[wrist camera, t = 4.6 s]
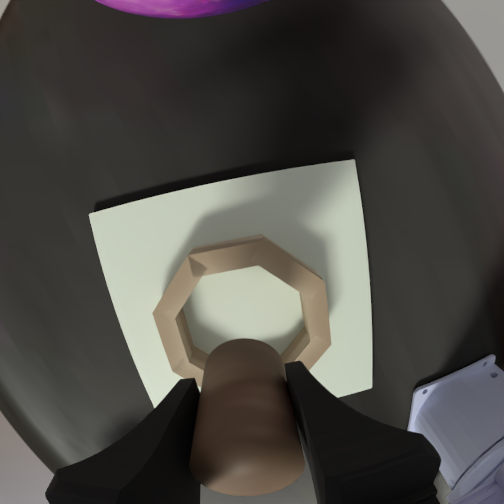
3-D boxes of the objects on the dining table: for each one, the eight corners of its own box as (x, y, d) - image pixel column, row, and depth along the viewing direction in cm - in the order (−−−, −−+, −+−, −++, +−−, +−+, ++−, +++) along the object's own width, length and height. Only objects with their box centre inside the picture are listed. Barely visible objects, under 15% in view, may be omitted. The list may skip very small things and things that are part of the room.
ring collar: (309, 224, 17) (317, 230, 15) (326, 364, 19) (334, 381, 17) (148, 256, 17) (138, 265, 15) (190, 387, 19) (185, 405, 18)
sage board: (351, 160, 17) (354, 159, 17) (369, 383, 21) (372, 387, 20) (93, 212, 17) (88, 214, 17) (163, 418, 21) (161, 423, 20)
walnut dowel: (279, 332, 12) (302, 427, 7) (287, 394, 13) (306, 488, 8) (196, 343, 12) (174, 439, 7) (213, 403, 13) (205, 498, 8)
